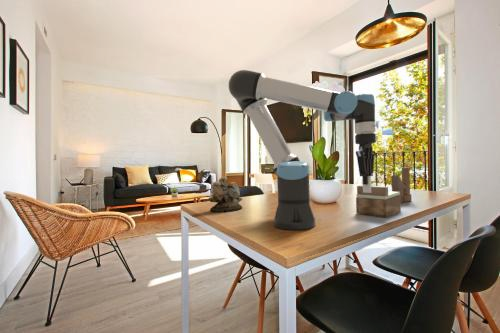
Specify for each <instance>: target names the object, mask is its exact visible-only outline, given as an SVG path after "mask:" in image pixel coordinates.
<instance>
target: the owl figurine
mask: <svg viewBox="0 0 500 333" xmlns="http://www.w3.org/2000/svg"><path fill="white" fill-rule="evenodd" d="M228 180H229V179H228V178H227V177H226V176H221V177H219V179H218V180H216V181H213V183H212V185H211V188H212V190H211V196H210V197H208V200H209V202H210V203H215V204H214V205H213V206H211V208H210V209H209V212H212V213H217V214H218V213H219V214H221V213H232V212H237V211H239V210H240V211H241V210H242V209H243V206H242V205H241V204H240V202H241V201H243V197H240V193H241V192H240V188H239V187H238V184H237V182H236V181H231V182H230V183H229V184H228Z"/></svg>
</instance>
